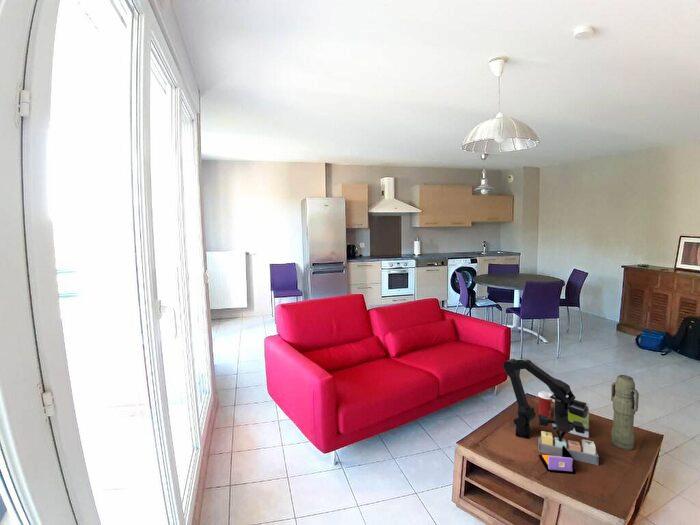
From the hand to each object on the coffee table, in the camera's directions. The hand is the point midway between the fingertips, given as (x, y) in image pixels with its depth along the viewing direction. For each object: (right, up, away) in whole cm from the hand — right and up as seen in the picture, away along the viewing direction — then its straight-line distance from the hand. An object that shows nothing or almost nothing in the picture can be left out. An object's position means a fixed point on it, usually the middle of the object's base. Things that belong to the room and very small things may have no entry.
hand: (560, 440), depth 167 cm
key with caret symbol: (0, -4, 0) cm, 4 cm away
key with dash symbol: (+5, -5, -2) cm, 7 cm away
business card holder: (-7, -7, -8) cm, 13 cm away
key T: (+10, -3, -5) cm, 12 cm away
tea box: (+18, -5, +19) cm, 27 cm away
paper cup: (+11, -4, +33) cm, 35 cm away
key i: (-5, -3, +3) cm, 6 cm away
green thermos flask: (+35, -5, +6) cm, 36 cm away
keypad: (+3, -6, -1) cm, 7 cm away
